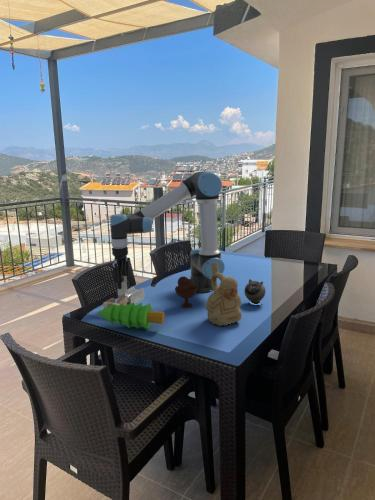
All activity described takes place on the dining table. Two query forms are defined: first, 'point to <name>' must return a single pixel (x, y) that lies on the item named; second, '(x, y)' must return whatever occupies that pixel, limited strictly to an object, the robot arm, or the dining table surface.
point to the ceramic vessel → (223, 299)
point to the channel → (135, 295)
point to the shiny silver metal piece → (125, 290)
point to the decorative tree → (132, 315)
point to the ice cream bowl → (186, 290)
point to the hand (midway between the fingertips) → (122, 293)
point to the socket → (112, 302)
